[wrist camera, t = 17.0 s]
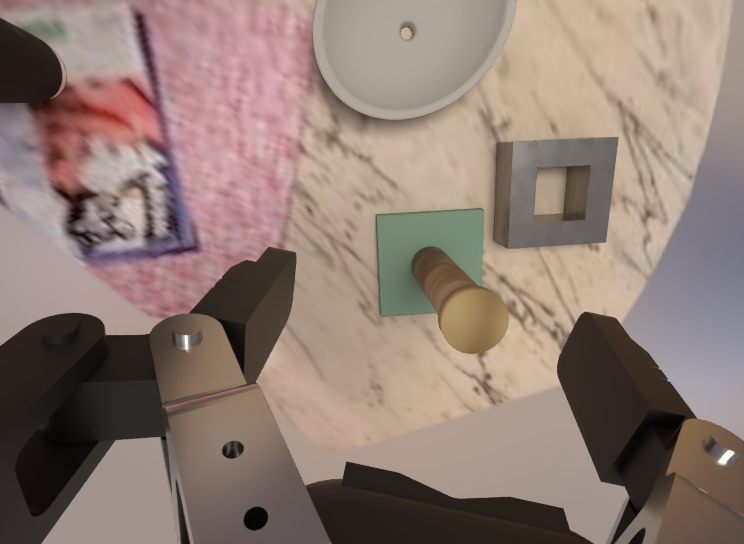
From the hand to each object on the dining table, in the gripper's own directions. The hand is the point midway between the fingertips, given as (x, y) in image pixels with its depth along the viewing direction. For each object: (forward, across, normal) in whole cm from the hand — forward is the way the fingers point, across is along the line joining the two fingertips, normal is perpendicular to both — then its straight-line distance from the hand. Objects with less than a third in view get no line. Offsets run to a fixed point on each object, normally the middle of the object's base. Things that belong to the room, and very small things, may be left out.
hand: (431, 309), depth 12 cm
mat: (+31, +3, -13) cm, 34 cm away
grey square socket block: (+34, +13, -4) cm, 37 cm away
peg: (+30, +3, -13) cm, 33 cm away
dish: (+34, -4, +7) cm, 35 cm away
